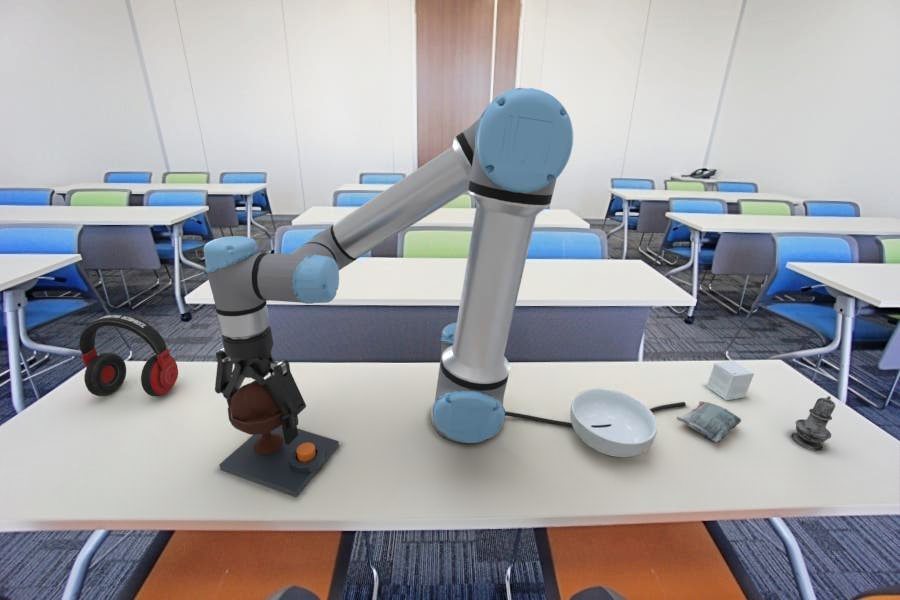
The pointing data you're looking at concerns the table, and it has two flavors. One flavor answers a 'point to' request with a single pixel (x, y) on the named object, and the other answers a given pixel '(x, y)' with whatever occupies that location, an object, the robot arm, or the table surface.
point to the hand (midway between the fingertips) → (266, 431)
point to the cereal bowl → (613, 422)
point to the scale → (280, 462)
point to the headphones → (111, 369)
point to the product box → (730, 380)
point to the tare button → (306, 452)
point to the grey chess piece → (815, 425)
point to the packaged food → (710, 420)
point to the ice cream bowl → (257, 416)
